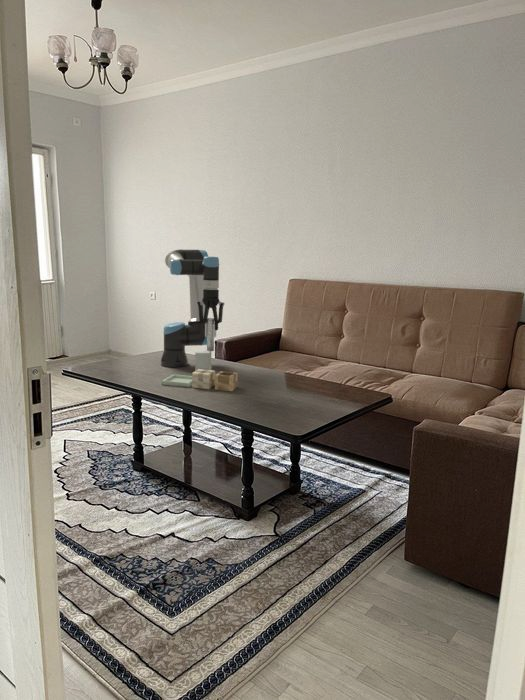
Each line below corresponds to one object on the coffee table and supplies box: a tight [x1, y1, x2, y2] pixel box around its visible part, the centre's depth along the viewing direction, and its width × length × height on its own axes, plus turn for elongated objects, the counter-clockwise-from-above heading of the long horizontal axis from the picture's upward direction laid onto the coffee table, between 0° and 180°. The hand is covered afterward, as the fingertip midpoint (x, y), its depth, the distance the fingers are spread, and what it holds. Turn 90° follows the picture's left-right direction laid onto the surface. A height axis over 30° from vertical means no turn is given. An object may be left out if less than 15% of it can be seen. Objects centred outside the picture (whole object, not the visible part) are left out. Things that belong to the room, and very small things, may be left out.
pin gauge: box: [206, 317, 215, 352], centre depth 267 cm, size 4×4×16 cm
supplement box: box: [194, 349, 212, 372], centre depth 281 cm, size 7×7×13 cm
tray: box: [161, 374, 192, 388], centre depth 266 cm, size 14×14×2 cm
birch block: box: [191, 369, 216, 390], centre depth 260 cm, size 8×8×7 cm
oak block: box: [214, 370, 239, 392], centre depth 258 cm, size 8×8×7 cm
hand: (210, 336), depth 267 cm, fingers closed on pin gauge, 3 cm apart
